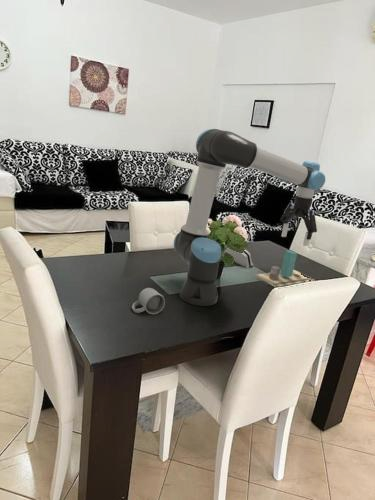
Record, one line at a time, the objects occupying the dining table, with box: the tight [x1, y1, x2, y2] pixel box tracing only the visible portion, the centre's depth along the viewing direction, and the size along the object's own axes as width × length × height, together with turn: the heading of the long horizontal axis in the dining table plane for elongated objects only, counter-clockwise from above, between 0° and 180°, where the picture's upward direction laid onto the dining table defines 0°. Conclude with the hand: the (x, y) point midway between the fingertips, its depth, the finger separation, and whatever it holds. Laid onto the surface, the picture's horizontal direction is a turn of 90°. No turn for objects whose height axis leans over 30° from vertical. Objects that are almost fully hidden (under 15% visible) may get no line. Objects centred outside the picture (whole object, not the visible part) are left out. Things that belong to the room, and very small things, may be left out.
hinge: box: [224, 248, 255, 269], centre depth 202 cm, size 17×5×10 cm, turn 40°
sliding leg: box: [280, 250, 298, 277], centre depth 186 cm, size 4×4×13 cm
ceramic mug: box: [131, 287, 166, 315], centre depth 139 cm, size 11×8×8 cm
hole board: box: [253, 265, 316, 287], centre depth 187 cm, size 28×14×7 cm, turn 123°
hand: (294, 241), depth 182 cm, fingers open, 13 cm apart
